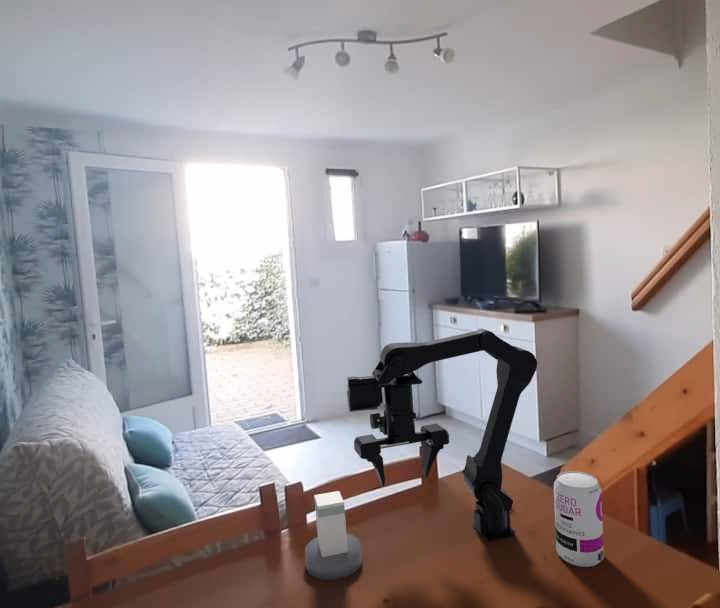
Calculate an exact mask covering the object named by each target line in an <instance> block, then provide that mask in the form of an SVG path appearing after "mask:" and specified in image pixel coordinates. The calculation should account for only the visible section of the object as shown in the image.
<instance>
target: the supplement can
mask: <svg viewBox="0 0 720 608" xmlns="http://www.w3.org/2000/svg"><path fill="white" fill-rule="evenodd" d="M602 497H603V496H602V487H601V486H600V483H599V482H598V479H597V478H596V477H595V476H594V475H591V474H589V473H586V472H583V471H582V472H581V471H564V472H561V473H559V474H558V475H557V476H556V479H555V481H554V483H553V499H554V500H553V501H554V523H555V526H554V527H555V546H556V547H555V548H556V552H557V555H558V556H559V557H560V558H561V559H562V560H564V562H567V563H568V564H570V565H573V566H576V567H580V568H581V567H583V568H588V567H589V568H590V567H595V566H597V565H599V564H600V563H601V562H603V560H604V558H605V556H604V529H603V528H604V527H603V525H604V524H603V502H602V501H603V500H602V499H603V498H602Z"/></svg>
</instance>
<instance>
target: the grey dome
mask: <svg viewBox="0 0 720 608" xmlns="http://www.w3.org/2000/svg"><path fill="white" fill-rule="evenodd" d="M346 534H347V547H348V552H346V553H341V554H336V555H331V556H326V557H322V555H321V551H320V548H319V544H318V536H317V537H314V538H313V539H312V540H310V541H309V542H308V543H307V545H305V549H304V561H305V568H306V571H307V573H308V574H309V575H310V576H312V577H313V578H316V579H319V580H325V581H333V580H334V581H335V580H340V579H344V578H347V577H349V576H352V575H353V574H355V573H356V572H357V571H358V570H359V569H360V568H361V566H362V563H363V556H362V555H363V554H362V543H361V541H360V540H359V539H358V538H357V537H356V536H354V535H352V534H350V533H346Z"/></svg>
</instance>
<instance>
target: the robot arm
mask: <svg viewBox="0 0 720 608" xmlns="http://www.w3.org/2000/svg"><path fill="white" fill-rule="evenodd" d="M478 352H485V353H486V354H488V355H489V356H491V357H492V358H493V359H494V360H496V361H497V362H496V363H497V364H496V380H497V383H496V384H497V387H496V390H495V395H494V398H493V401H492V406H491V409H490V412H489V416H488V418H487V419H488V420H487V423H486V427H485V430H484V433H483V437H482V439H481V444H480V446H479V450H478V451H477V453H476V454H474V456H471V455H469V454H468V455H467V456H466V460H465V465H464V468H463V470H462V471H461V473H462V475H463V482H464V484H465V485H466V487H467V489H469V492H471V493H472V495H473V496H474V498H475V499H476V501H475V509H474V510H473V517H474V518H473V519H474V523H473V525H472V526H473V528H474V529H475V530H476V531H477V532H478V533H479V534H480V535H481V536H482V537H483V538H484V539H485V540H486V541H487V542H488V541H493V540H497V539H501V538H502V539H503V538H507V537H511V536H514V535H516V531H515V530H514V529H512V527H511V510H512V507H513V504H514V500H513V499H512V497H511V496H510V495H509V494H508V493H507V492H506V491H505V490H504V489H503V487H502V486H503V469H502V466H503V465H502V459H503V454H504V452H505V448H506V444H507V441H508V438H509V436H510V435H509V434H510V431H511V428H512V424H513V421H514V417H515V414H516V409H517V406H518V404H519V400H520V396H521V394H522V393H523V391H524V390H525V389H526V388H527V387H528V386H529V385H530V384H531V381H532V379H533V378H534V376H535V373H536V372H537V368H538V360H537V359H536V356H535V354H533V353H532V352H531V351H528V350H527V349H524V348H521V347H519V346H516V345H512V344H510V343H508V342H506V341H505V340H504V339H502V338H500V337H499V336H497V335H496V333H494V332H493V331H490V330H488V329H484V328H478V329H477V330H474V331H469V332H465V333H461V334H456V335H451V336H447V337H443V338H439V339H434V340H429V341H425V342H408V341H407V342H405V341H404V342H391V343H388V344H386V345H384V347H383V348H382V350H381V352H380V355H379V356H380V358H379V359H380V360H379V361H378V363H377V365H376V366H375V368H374V370H373V371H372V373H371V375H369V376H366V375H365V376H348V377H347V391H346V397H347V408H348V411H349V413H353V412H362V411H372V410H378V407H381V404H383V395H384V408H385V409H383V415H382V416H381V413H380V412H376V413H370V414H369V423H370V428H371V430H375V429H379V433H382V434H383V435H384V436H387V437H382V438H377V437H376V436H375V435H374V434H366V435H360V436H359V435H358V436H356V437H355V439H354V441H353V448H354V451H355V453H356V454H357V455H358V457H359V458H360V459H362V460H366V461H367V462H368V463H371V464H372V466H373V469H374V471H375V473H376V475H377V477H378V481H379V483H380V484H381V486H382V487H385V484H386V476H385V470H384V469H385V466H384V457H383V456H382V455H381V452H382V449H387V448H388V449H389V448H392V447H398V446H404V445H409V444H415V443H420V445H421V450H422V451H421V452H422V458H421V459H422V467H421V468H422V469H421V470H422V475H423V476H422V477H424V479H427V478H428V476H429V474H430V472H431V469H432V466H433V465H434V461H435V460H436V458H437V456H438V454H439V453H440V450H443V449H444V448H445V445H448V444H450V434H449V432H448V430H446V428H444V427H443V426H441V425H439V424H438V423H430V424H426V425H421V426H420V427H421V428H420V431H418V432H417V431H416V424H415V419H417V412H415V407H414V406H415V405H414V393H413V386H414V385H421V384H423V380H422V379H421V378H420V377H419V376H417V375H416V373H415V371H418V370H419V369H421V368H423V367H424V366H425V365H428V364H430V363H435V362H438V361H439V362H440V361H443V360H448V359H451V358H452V359H453V358H457V357H460V356H465V355H466V356H467V355H469V354H474V353H478ZM382 389H383V390H382ZM383 391H384V392H383Z"/></svg>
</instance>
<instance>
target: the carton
mask: <svg viewBox="0 0 720 608" xmlns="http://www.w3.org/2000/svg"><path fill="white" fill-rule="evenodd" d="M341 494H342V493H341V492H340V490H337V491H331V492H325V493H320V494H314V496H313V497H314V507H315V508H314V509H315V519H316V520H315V521H316V533H317V537H318V544H319V548H320V551H321V555H322V557H326V556H331V555H336V554H341V553H346V552H348V547H347V534H348V533H347V523H346V522H347V521H346V511H345V509H346V508H345V501H344V499H343V496H342V495H341Z"/></svg>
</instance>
